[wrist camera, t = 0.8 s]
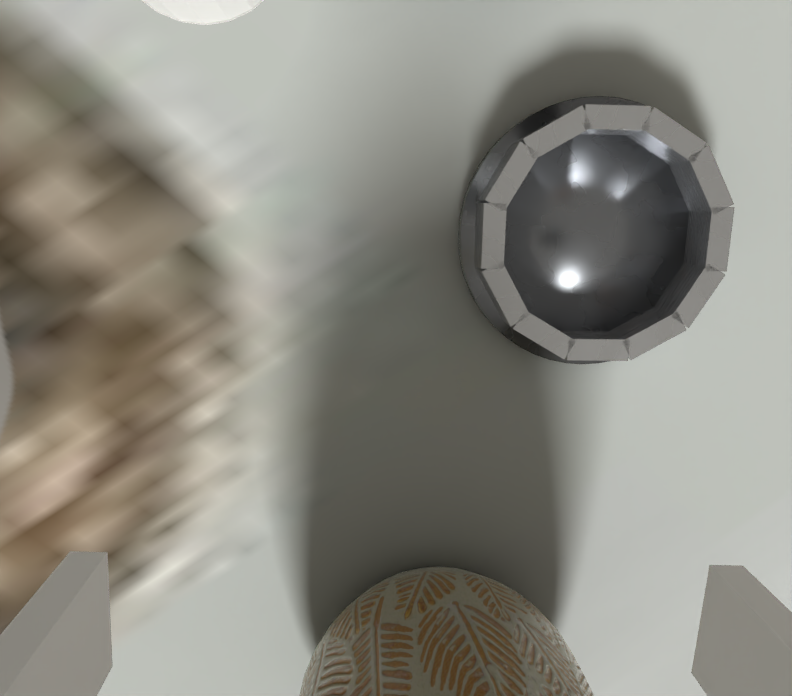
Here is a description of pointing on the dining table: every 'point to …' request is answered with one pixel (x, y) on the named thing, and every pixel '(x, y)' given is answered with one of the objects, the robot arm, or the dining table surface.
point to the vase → (442, 642)
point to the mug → (203, 9)
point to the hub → (595, 230)
